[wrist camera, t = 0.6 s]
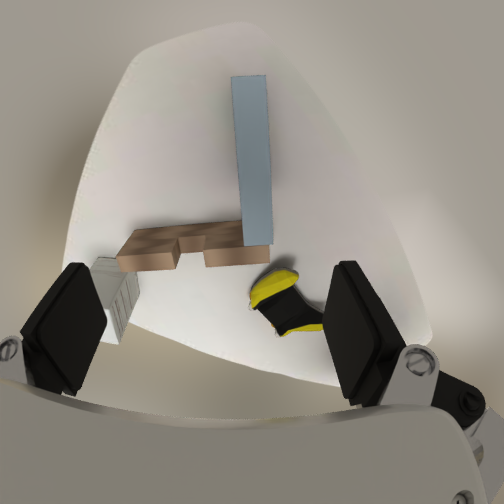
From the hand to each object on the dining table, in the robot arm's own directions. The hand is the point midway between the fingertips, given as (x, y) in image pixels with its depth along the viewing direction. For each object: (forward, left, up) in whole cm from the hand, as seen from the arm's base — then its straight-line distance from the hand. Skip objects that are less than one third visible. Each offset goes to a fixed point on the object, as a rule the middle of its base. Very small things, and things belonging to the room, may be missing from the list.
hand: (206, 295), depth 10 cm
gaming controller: (-22, +12, -29) cm, 39 cm away
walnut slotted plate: (-3, +12, -29) cm, 32 cm away
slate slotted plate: (0, -3, -29) cm, 29 cm away
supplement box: (+3, +28, -29) cm, 41 cm away
